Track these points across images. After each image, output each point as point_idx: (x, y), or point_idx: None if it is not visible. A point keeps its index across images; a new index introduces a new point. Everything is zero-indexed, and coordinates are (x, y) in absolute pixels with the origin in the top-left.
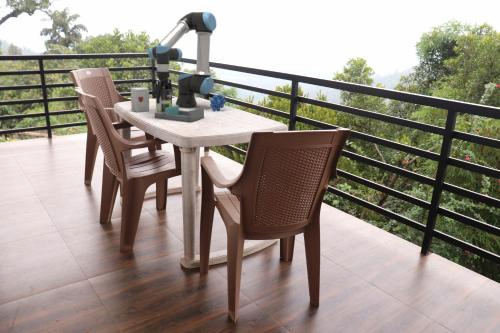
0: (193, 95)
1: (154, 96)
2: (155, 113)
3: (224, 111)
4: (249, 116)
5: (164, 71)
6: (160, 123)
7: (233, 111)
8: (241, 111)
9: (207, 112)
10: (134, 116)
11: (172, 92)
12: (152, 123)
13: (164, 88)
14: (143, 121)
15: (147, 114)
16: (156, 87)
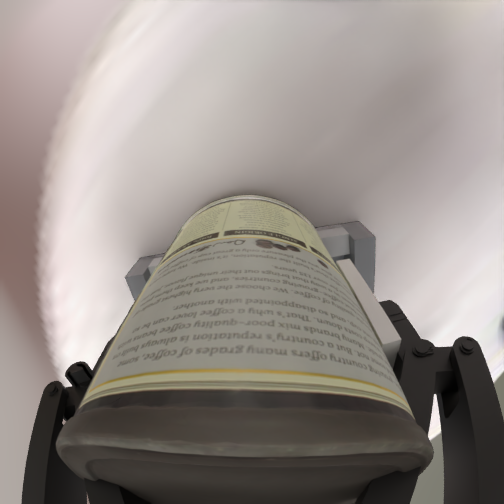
0: None
1: (49, 390)
2: (127, 280)
3: (500, 349)
4: (430, 432)
5: None
6: (95, 360)
7: (501, 363)
8: (501, 373)
9: (478, 331)
10: (79, 96)
11: (452, 400)
12: (66, 335)
13: (402, 466)
14: (46, 274)
15: (208, 83)
16: (40, 500)
